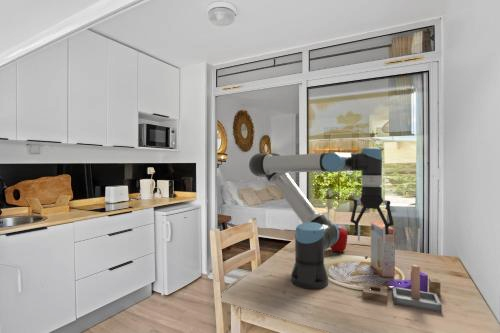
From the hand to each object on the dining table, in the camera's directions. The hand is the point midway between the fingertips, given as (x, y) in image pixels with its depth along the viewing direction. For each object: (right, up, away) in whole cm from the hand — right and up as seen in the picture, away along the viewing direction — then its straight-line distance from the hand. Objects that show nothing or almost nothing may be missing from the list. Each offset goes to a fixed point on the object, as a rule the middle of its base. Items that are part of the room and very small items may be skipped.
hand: (371, 241), depth 115 cm
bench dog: (+20, -17, -9) cm, 28 cm away
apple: (-1, -17, +42) cm, 45 cm away
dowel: (+9, -17, -15) cm, 24 cm away
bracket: (+12, -18, -5) cm, 22 cm away
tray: (+9, -18, -15) cm, 25 cm away
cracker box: (+11, -17, +13) cm, 24 cm away
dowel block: (-3, -18, -10) cm, 21 cm away
